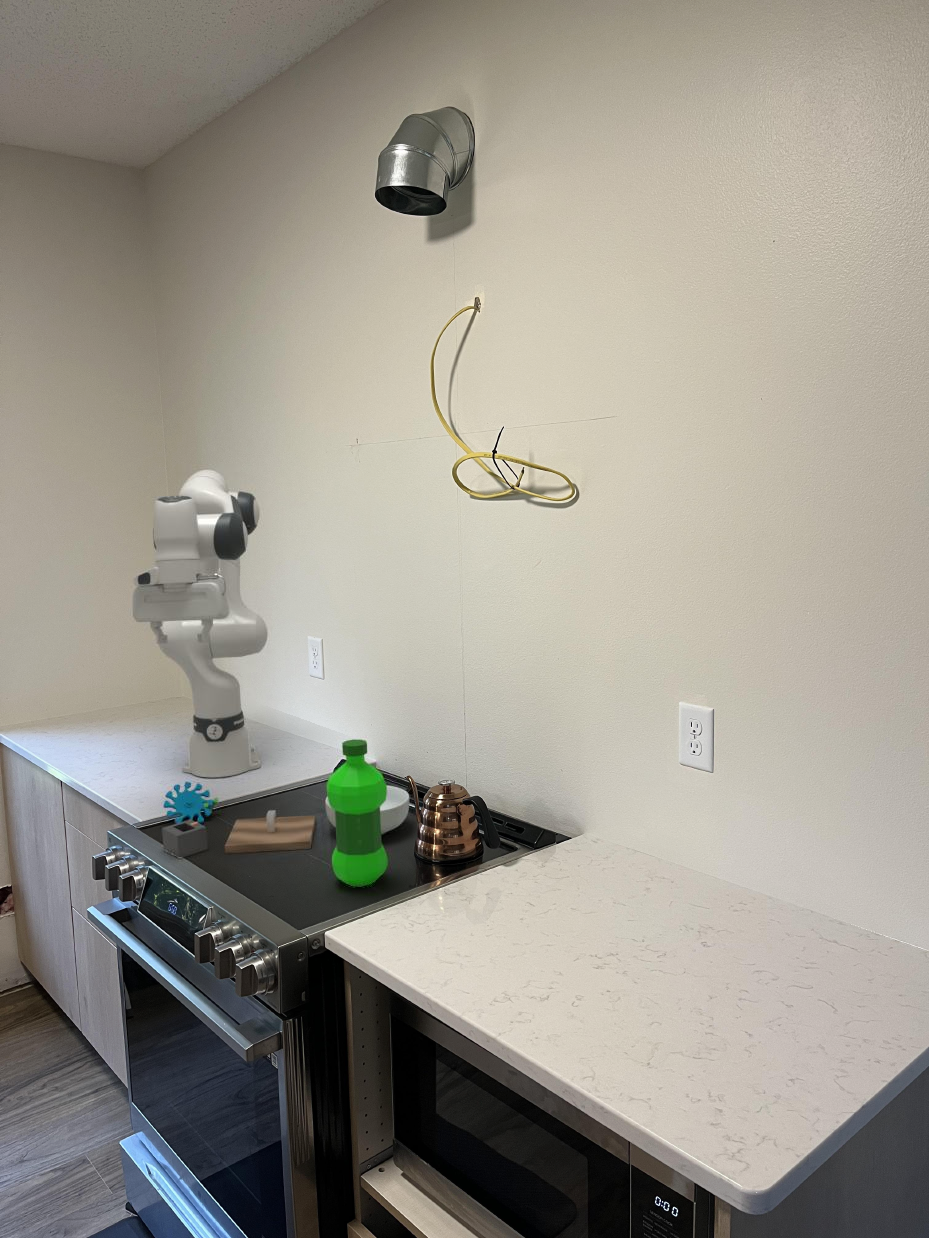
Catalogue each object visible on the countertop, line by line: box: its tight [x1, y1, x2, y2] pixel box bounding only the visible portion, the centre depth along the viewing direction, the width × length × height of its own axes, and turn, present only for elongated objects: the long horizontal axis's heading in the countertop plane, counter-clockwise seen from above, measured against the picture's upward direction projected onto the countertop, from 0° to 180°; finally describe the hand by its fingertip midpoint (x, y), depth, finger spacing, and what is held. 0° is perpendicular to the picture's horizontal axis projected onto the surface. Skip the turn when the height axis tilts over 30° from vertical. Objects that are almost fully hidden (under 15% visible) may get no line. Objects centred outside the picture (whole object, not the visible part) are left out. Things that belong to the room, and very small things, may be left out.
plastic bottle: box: [325, 739, 388, 887], centre depth 159 cm, size 10×10×25 cm
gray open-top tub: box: [161, 819, 208, 858], centre depth 176 cm, size 6×6×5 cm
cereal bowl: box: [325, 784, 410, 836], centre depth 184 cm, size 17×17×7 cm
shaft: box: [266, 809, 277, 833], centre depth 182 cm, size 3×1×4 cm, turn 5°
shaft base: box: [224, 815, 317, 854], centre depth 182 cm, size 14×16×2 cm
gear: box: [163, 781, 219, 824], centre depth 193 cm, size 11×6×10 cm
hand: (182, 643), depth 187 cm, fingers open, 8 cm apart
